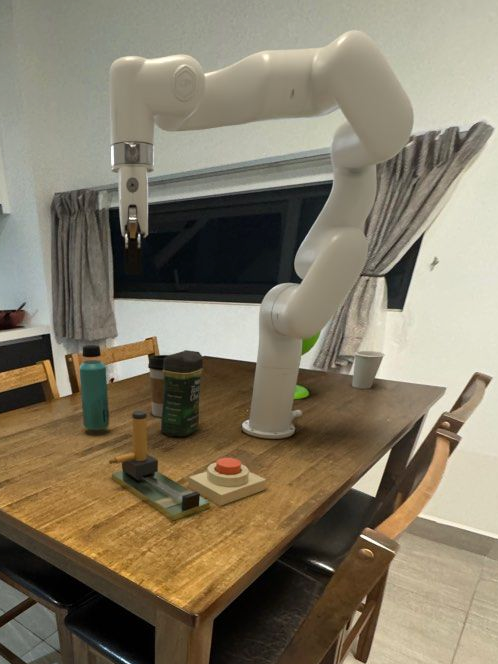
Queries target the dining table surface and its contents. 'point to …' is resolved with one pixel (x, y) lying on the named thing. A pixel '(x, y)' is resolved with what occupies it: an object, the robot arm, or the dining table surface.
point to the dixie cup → (366, 368)
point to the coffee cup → (157, 383)
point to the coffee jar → (181, 393)
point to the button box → (226, 485)
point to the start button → (228, 466)
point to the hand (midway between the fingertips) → (132, 273)
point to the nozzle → (138, 450)
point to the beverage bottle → (94, 390)
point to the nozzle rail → (163, 494)
